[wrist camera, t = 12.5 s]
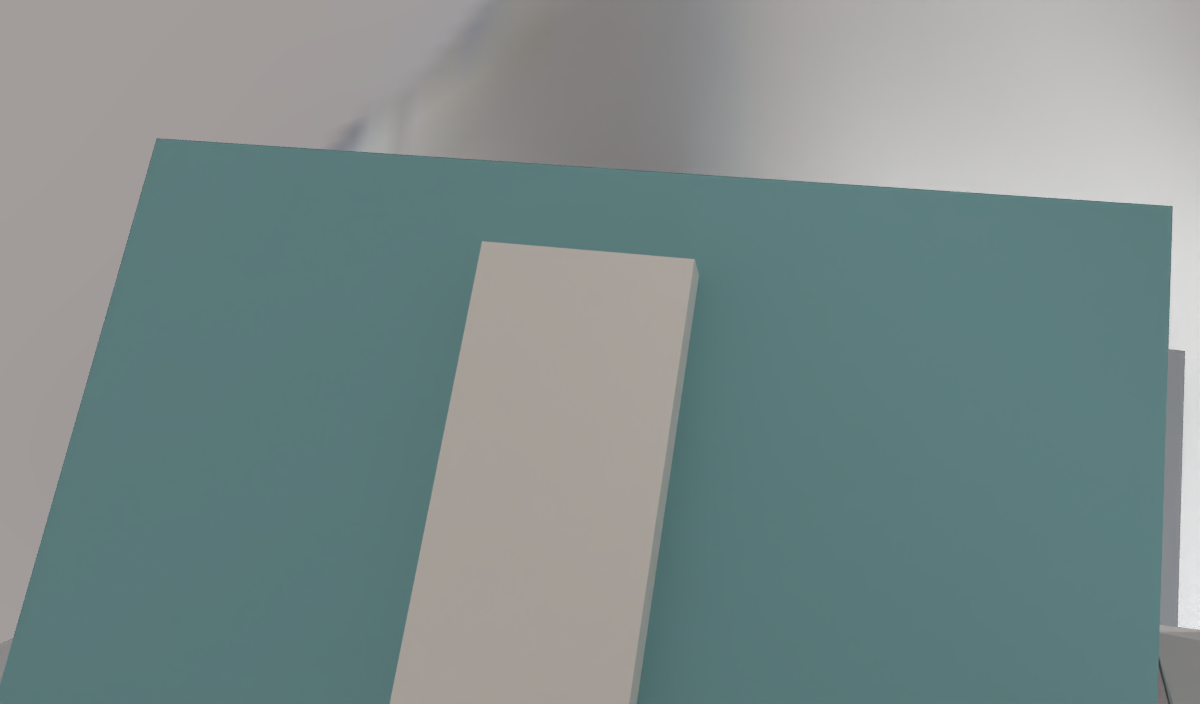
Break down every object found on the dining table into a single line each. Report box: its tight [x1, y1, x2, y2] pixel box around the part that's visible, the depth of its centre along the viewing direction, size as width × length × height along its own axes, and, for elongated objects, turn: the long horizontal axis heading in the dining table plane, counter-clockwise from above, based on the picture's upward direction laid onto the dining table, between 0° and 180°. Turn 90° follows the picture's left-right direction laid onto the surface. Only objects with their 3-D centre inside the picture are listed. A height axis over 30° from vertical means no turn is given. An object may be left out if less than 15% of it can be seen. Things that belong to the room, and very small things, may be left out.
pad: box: [1160, 350, 1185, 627], centre depth 21 cm, size 14×14×1 cm
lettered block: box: [0, 138, 1173, 704], centre depth 9 cm, size 5×5×10 cm
